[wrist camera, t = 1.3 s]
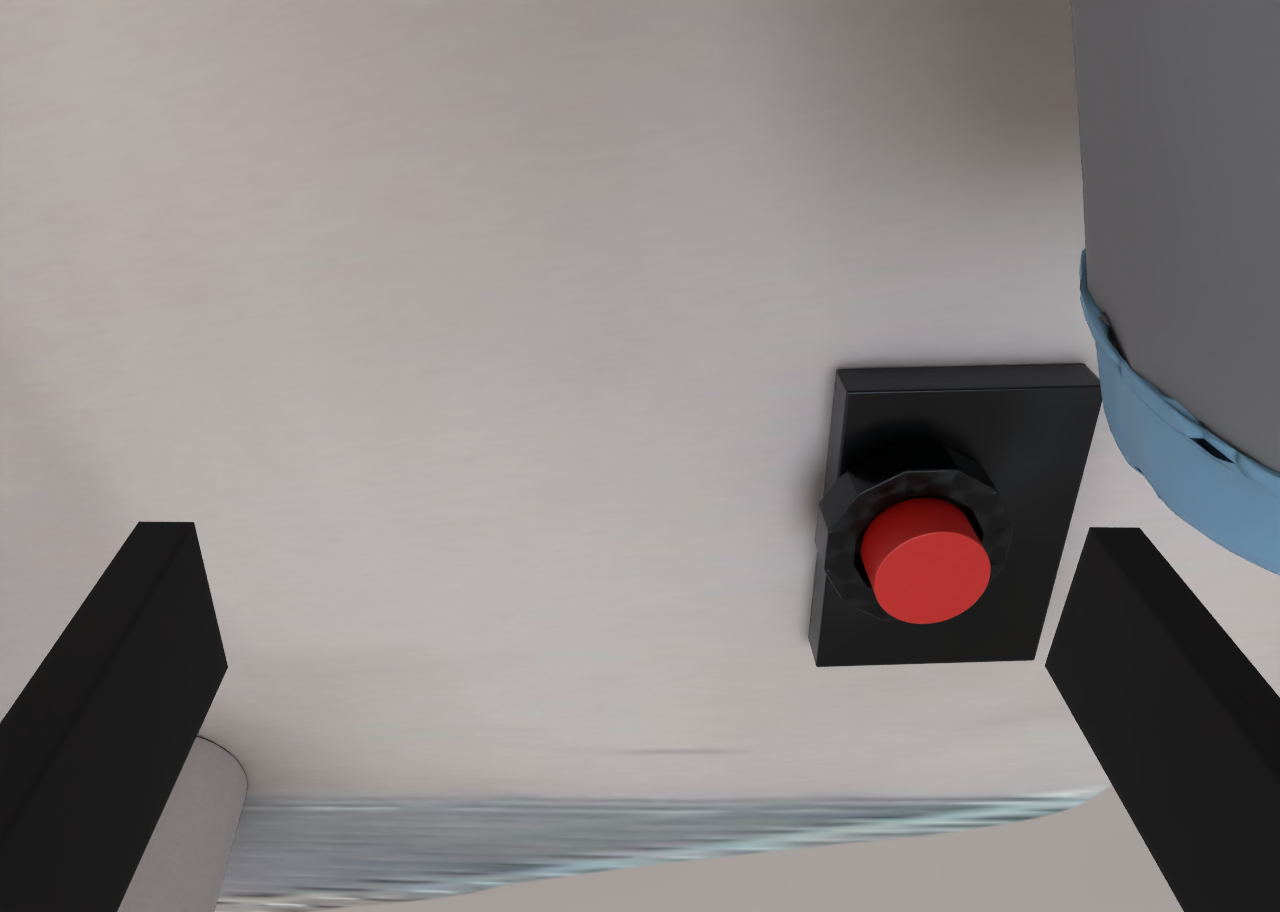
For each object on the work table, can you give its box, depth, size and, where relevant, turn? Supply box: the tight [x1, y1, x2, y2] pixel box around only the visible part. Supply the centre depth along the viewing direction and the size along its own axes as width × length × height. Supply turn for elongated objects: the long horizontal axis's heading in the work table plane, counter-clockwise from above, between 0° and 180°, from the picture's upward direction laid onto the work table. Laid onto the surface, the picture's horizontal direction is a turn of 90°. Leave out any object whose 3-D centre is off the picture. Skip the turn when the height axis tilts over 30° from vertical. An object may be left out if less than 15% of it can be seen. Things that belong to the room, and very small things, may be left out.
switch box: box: [809, 364, 1102, 667], centre depth 41 cm, size 14×11×4 cm
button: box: [861, 497, 991, 624], centre depth 38 cm, size 4×4×2 cm
